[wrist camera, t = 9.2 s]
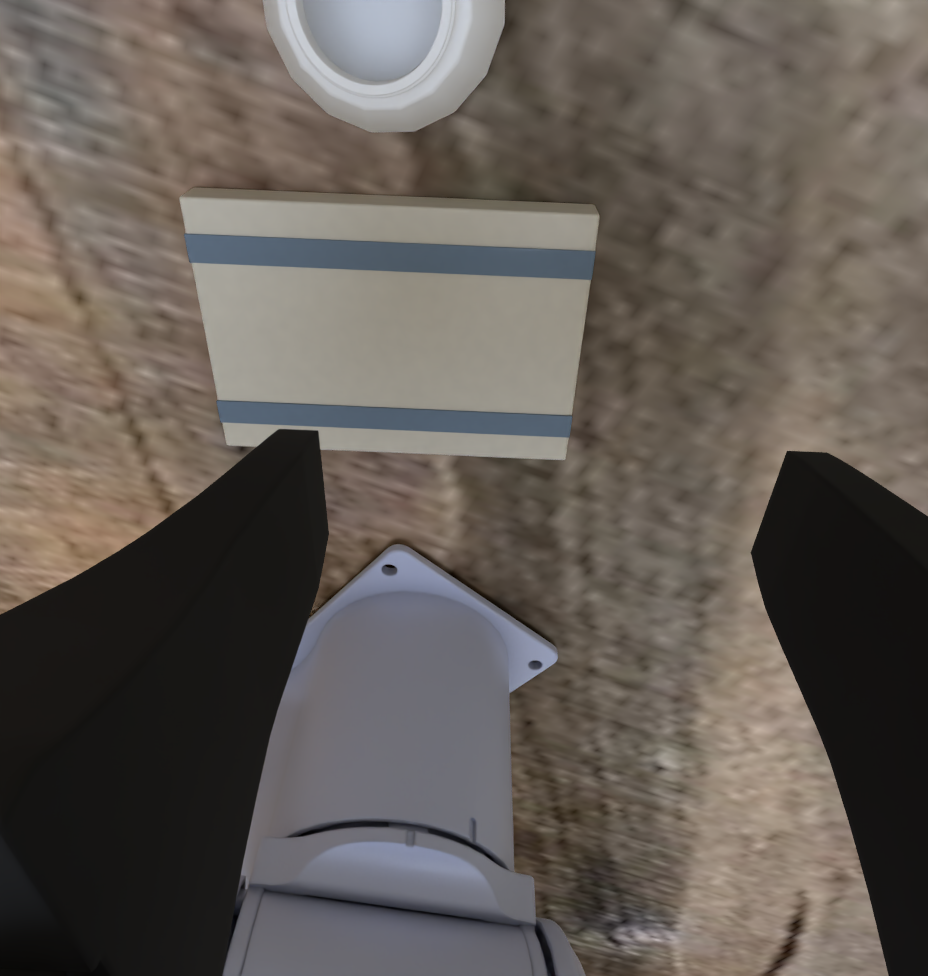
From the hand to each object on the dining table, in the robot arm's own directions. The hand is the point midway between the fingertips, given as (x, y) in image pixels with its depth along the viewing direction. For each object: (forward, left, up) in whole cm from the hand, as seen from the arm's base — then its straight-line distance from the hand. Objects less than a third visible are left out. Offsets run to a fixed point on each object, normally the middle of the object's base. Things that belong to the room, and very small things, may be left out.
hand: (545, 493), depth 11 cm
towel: (-3, +2, -9) cm, 10 cm away
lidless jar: (+2, +7, -10) cm, 12 cm away
